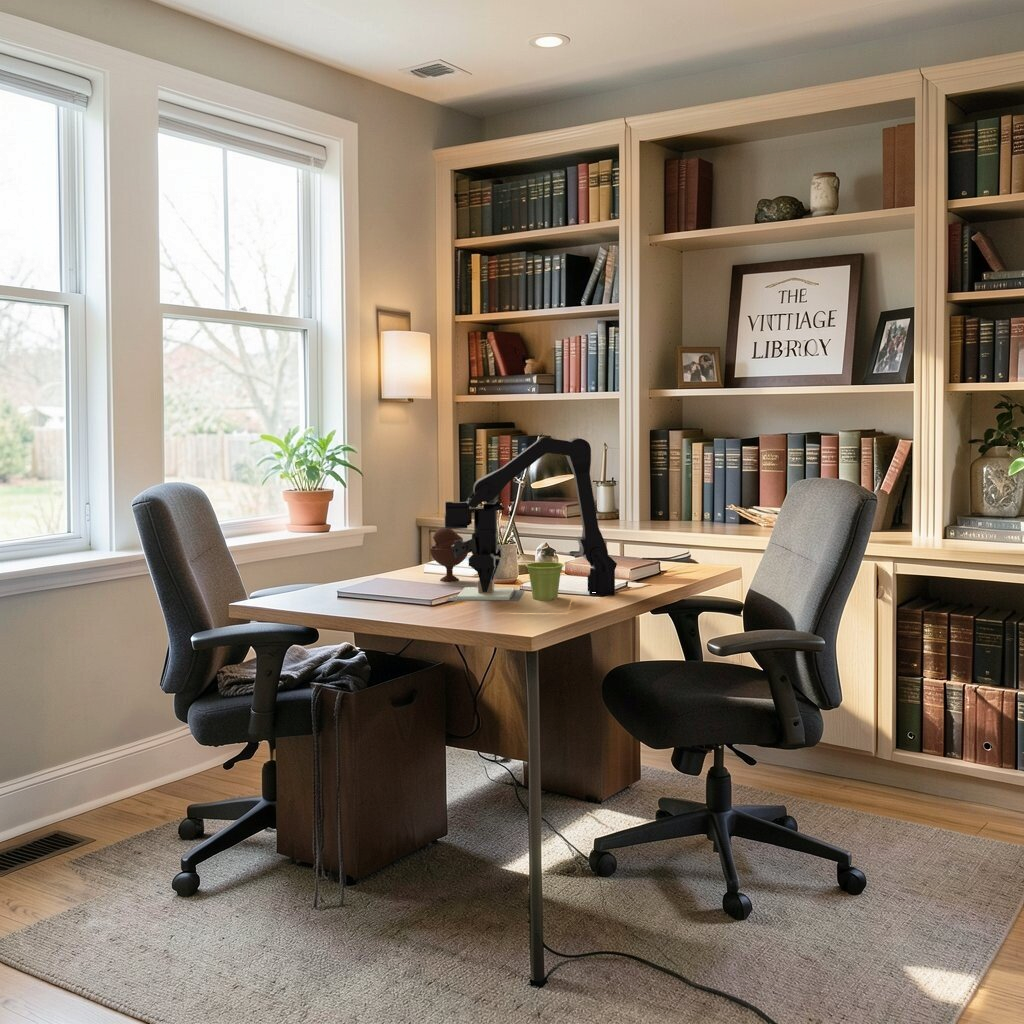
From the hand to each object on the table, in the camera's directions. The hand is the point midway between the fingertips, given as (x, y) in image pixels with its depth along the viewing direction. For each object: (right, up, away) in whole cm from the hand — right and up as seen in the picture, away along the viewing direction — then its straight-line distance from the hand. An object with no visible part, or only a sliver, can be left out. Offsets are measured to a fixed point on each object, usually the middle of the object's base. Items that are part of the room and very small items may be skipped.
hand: (486, 589), depth 271 cm
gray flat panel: (0, -2, 0) cm, 2 cm away
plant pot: (+15, -2, -4) cm, 15 cm away
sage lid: (0, -1, 0) cm, 1 cm away
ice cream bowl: (-11, 0, +23) cm, 26 cm away
